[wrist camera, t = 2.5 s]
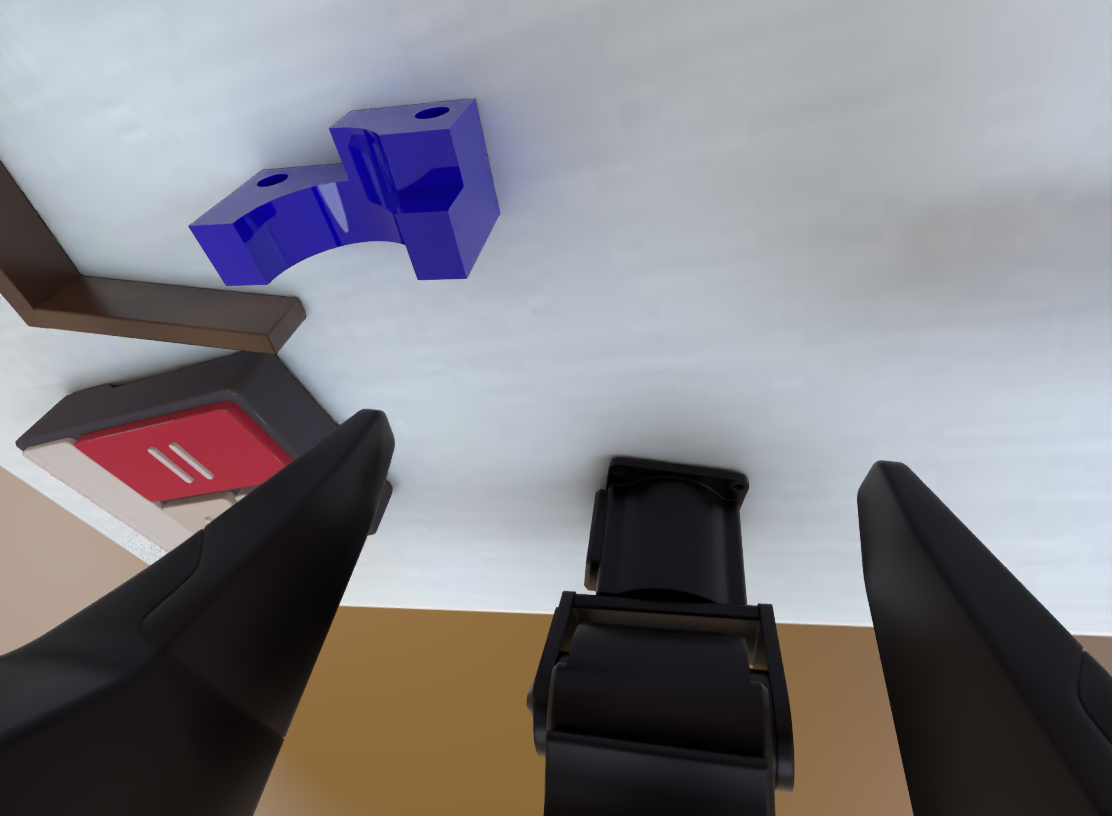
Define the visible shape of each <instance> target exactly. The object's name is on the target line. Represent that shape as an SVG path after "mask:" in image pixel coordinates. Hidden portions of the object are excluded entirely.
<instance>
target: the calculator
mask: <svg viewBox="0 0 1112 816" xmlns="http://www.w3.org/2000/svg"><path fill="white" fill-rule="evenodd" d="M337 427H338V426H337V425H336V424H335V423H334V422H333V421H332V420H331V419H330V417H329V416H328V415H327V414H326V413H325V412H324V411H323V410H322V408H321V407H320V406H319V405H318V404H317V403H316V402H315V400H314V399H313V398H312V397H311V396H310V395H309V394H308V393H307V391H306V390H305V389H304V388H303V387H302V386H301V385H300V383H299V382H298V381H297V380H296V379H295V378H294V377H293V376H292V374H291V373H290V372H289V371H288V370H287V369H286V368H285V366H284V365H283V364H282V363H281V362H280V361H279V360H278V359H277V357H276V356H275V355H274V354H267V353H258V352H250V351H246V352H243V353H239V354H235V355H232V356H228V357H224V358H221V359H217V360H213V361H210V362H206V363H202V364H199V365H195V366H192V367H188V368H184V369H181V370H177V371H173V372H170V373H166V374H162V375H159V376H155V377H151V378H148V379H144V380H140V381H137V382H133V383H129V384H126V385H122V386H118V387H115V388H114V387H113V386H112V385H110V384H106V385H102V386H98V387H95V388H91V389H87V390H84V391H80V392H77V393H73V394H69V395H67V396H65V397H64V398H63V399H62V400H61V401H59V402H58V403H57V404H56V405H55V406H54V407H53V408H52V409H51V410H49V411H48V412H47V413H46V414H45V415H44V416H43V417H42V418H41V419H40V420H38V421H37V422H36V423H35V424H34V425H33V426H32V427H31V428H30V429H29V430H27V431H26V432H25V433H24V434H23V435H22V436H21V437H20V438H19V439H18V440H17V441H16V446H17V447H18V448H19V449H21V450H22V451H23V452H22V454H23V455H24V456H25V457H26V458H28V459H29V460H30V461H32V462H33V463H35V464H36V465H38V466H39V467H41V468H42V469H44V470H45V471H47V472H48V473H50V474H51V475H53V476H54V477H56V478H57V479H59V480H60V481H62V482H63V483H65V484H66V485H68V486H69V487H71V488H72V489H74V490H75V491H77V492H78V493H80V494H81V495H83V496H84V497H85V498H87V499H88V500H90V501H91V502H93V503H94V504H96V505H97V506H99V507H100V508H102V509H103V510H105V511H106V512H108V513H109V514H111V515H112V516H114V517H115V518H117V519H118V520H120V521H121V522H123V523H124V524H126V525H127V526H129V527H130V528H132V529H133V530H135V531H136V532H138V533H139V534H141V535H142V536H144V537H145V538H147V539H148V540H150V541H151V542H153V543H154V544H156V545H157V546H159V547H160V548H162V549H163V550H165V551H166V552H168V553H169V552H170V551H172V550H173V549H174V548H176V547H177V546H178V545H180V544H181V543H183V542H184V541H185V540H187V539H188V538H189V537H191V536H192V535H193V534H195V533H196V532H197V531H199V530H200V529H204V528H205V526H206V525H207V524H208V523H210V522H211V521H212V520H214V519H215V518H216V517H218V516H219V515H220V514H222V513H223V512H224V511H226V510H227V509H228V508H230V507H231V506H232V505H234V504H235V503H236V502H238V501H239V500H240V499H242V498H243V497H245V496H246V495H247V494H249V493H250V492H251V491H253V490H254V489H255V488H257V487H258V486H259V485H261V484H262V483H263V482H265V481H266V480H267V479H269V478H270V477H271V476H273V475H274V474H275V473H277V472H278V471H279V470H281V469H282V468H283V467H285V466H286V465H287V464H289V463H290V462H291V461H293V460H294V459H295V458H297V457H298V456H299V455H301V454H302V453H303V452H305V451H306V450H307V449H309V448H310V447H312V446H313V445H314V444H316V443H317V442H318V441H320V440H321V439H322V438H324V437H325V436H326V435H328V434H329V433H330V432H332V431H333V430H334V429H336V428H337ZM391 494H392V488H391V487H390V485H389V484H388V483H387V482H386V481H385V484H384V488H383V491H382V495H381V498H380V502H379V505H378V509H377V512H376V515H375V518H374V521H373V523H372V526H371V529H370V531H369V533H368V535H373V534H375V533H376V531H377V529H378V526H379V524H380V522H381V519H382V517H383V514H384V512H385V509H386V507H387V504H388V502H389V499H390V497H391Z"/></svg>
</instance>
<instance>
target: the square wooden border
mask: <svg viewBox="0 0 1112 816" xmlns="http://www.w3.org/2000/svg"><path fill="white" fill-rule="evenodd" d="M0 293H1V294H2V295H3V297H4V298H5V299H6V300H7V301H8V302H9V304H10V305H11V306H12V307H13V308H14V309H15V311H16V312H17V313H18V314H19V315H20V317H21V318H22V319H23V320H24V321H25V322H26V324H27V325H28V326H31V327H40V328H52V329H61V330H69V331H78V332H86V333H95V334H104V335H112V336H121V337H129V338H138V339H147V340H155V341H164V342H172V343H181V344H189V345H198V346H207V347H215V348H224V349H232V350H241V351H250V352H258V353H267V354H277V353H278V351H279V350H280V349H281V348H282V346H283V345H284V344H285V343H286V342H287V340H288V339H289V338H290V337H291V335H292V334H293V333H294V332H295V330H296V329H297V328H298V327H299V326H300V324H301V323H302V322H303V321H304V319H305V314H304V311H303V309H302V306H301V304H300V301H299V299H297V298H287V297H278V296H268V295H258V294H249V293H239V292H229V291H220V290H210V289H200V288H191V287H181V286H172V285H162V284H152V283H143V282H133V281H123V280H114V279H104V278H94V277H85V276H81V275H80V274H79V273H78V271H77V270H76V268H75V267H74V265H73V264H72V263H71V261H70V260H69V258H68V257H67V256H66V254H65V253H64V251H63V250H62V248H61V247H60V246H59V244H58V243H57V241H56V240H55V239H54V237H53V236H52V234H51V233H50V231H49V230H48V229H47V227H46V226H45V224H44V223H43V222H42V220H41V219H40V217H39V216H38V214H37V213H36V212H35V210H34V209H33V207H32V206H31V205H30V203H29V202H28V200H27V199H26V198H25V196H24V195H23V193H22V192H21V190H20V189H19V188H18V186H17V185H16V183H15V182H14V181H13V179H12V178H11V176H10V175H9V173H8V172H7V171H6V169H5V168H4V166H3V165H2V164H1V162H0Z"/></svg>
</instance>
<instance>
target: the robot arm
mask: <svg viewBox="0 0 1112 816" xmlns="http://www.w3.org/2000/svg"><path fill="white" fill-rule="evenodd" d="M394 447H395V439H394V435H393V433H392V430H391V427H390V424H389V422H388V419H387V416H386V414H385V413H384V412H383V411H381V410H374V409H362V410H360V411H358V412H357V413H356V414H354V415H353V416H352V417H350V418H349V419H348V420H346V421H345V422H344V423H342V424H341V425H340V426H338V427H337V428H336V429H334V430H333V431H332V432H330V433H329V434H328V435H326V436H325V437H324V438H322V439H321V440H320V441H318V442H317V443H316V444H314V445H313V446H312V447H310V448H309V449H307V450H306V451H305V452H303V453H302V454H301V455H299V456H298V457H297V458H295V459H294V460H293V461H291V462H290V463H289V464H287V465H286V466H285V467H283V468H282V469H281V470H279V471H278V472H277V473H275V474H274V475H273V476H271V477H270V478H269V479H267V480H266V481H265V482H263V483H262V484H261V485H259V486H258V487H257V488H255V489H254V490H253V491H251V492H250V493H249V494H247V495H246V496H245V497H243V498H242V499H240V500H239V501H238V502H236V503H235V504H234V505H232V506H231V507H230V508H228V509H227V510H226V511H224V512H223V513H222V514H220V515H219V516H218V517H216V518H215V519H214V520H212V521H211V522H210V523H208V524H207V525H206V526H205V528H204V529H200V530H199V531H197V532H196V533H195V534H193V535H192V536H191V537H189V538H188V539H187V540H185V541H184V542H183V543H181V544H180V545H178V546H177V547H176V548H174V549H173V550H172V551H170V552H169V553H167V554H166V555H165V556H163V557H162V558H160V559H159V560H158V561H156V562H155V563H153V564H152V565H150V566H149V567H147V568H146V569H144V570H143V571H141V572H140V573H138V574H137V575H135V576H134V577H132V578H131V579H129V580H128V581H126V582H125V583H123V584H122V585H120V586H119V587H117V588H116V589H114V590H113V591H111V592H109V593H108V594H106V595H105V596H103V597H102V598H100V599H99V600H97V601H96V602H94V603H92V604H91V605H89V606H88V607H86V608H85V609H83V610H82V611H80V612H79V613H77V614H75V615H74V616H72V617H71V618H69V619H68V620H66V621H64V622H63V623H61V624H60V625H58V626H57V627H55V628H54V629H52V630H50V631H49V632H47V633H46V634H44V635H42V636H41V637H39V638H37V639H36V640H34V641H32V642H30V643H28V644H26V645H24V646H22V647H20V648H18V649H16V650H13V651H11V652H9V653H6V654H4V655H1V656H0V816H253V815H254V812H255V810H256V808H257V805H258V803H259V800H260V798H261V795H262V793H263V791H264V788H265V785H266V783H267V781H268V778H269V776H270V773H271V771H272V769H273V766H274V764H275V761H276V759H277V756H278V754H279V751H280V748H281V746H282V744H283V741H284V738H283V737H285V736H286V734H287V731H288V728H289V726H290V724H291V721H292V719H293V716H294V714H295V712H296V709H297V707H298V704H299V702H300V699H301V697H302V695H303V692H304V690H305V687H306V685H307V682H308V680H309V677H310V675H311V673H312V670H313V668H314V665H315V663H316V660H317V658H318V655H319V653H320V650H321V648H322V646H323V643H324V641H325V638H326V636H327V634H328V631H329V629H330V626H331V624H332V621H333V619H334V616H335V614H336V612H337V609H338V607H339V604H340V602H341V599H342V597H343V594H344V592H345V590H346V587H347V585H348V582H349V580H350V577H351V575H352V572H353V570H354V568H355V565H356V563H357V560H358V558H359V555H360V553H361V550H362V548H363V546H364V543H365V541H366V538H367V536H368V533H369V531H370V529H371V526H372V523H373V521H374V518H375V515H376V512H377V509H378V505H379V502H380V498H381V495H382V491H383V488H384V484H385V480H386V477H387V473H388V470H389V466H390V463H391V459H392V455H393V452H394ZM748 489H749V481H748V477H747V476H745V475H744V474H740V473H733V472H725V471H717V470H710V469H702V468H694V467H686V466H679V465H671V464H663V463H655V462H648V461H640V460H632V459H625V458H614V459H612V460H611V461H610V462H609V467H608V476H607V484H606V489H601V488H600V489H599V490H598V491H597V492H596V495H595V502H594V509H593V516H592V523H591V531H590V538H589V545H588V552H587V559H586V570H585V582H584V585H585V587H586V588H587V589H588V590H591V591H596V595H587V594H576V592H574V591H563V593H562V597H561V600H560V603H559V607H556V609H555V613H554V616H553V619H552V623H551V626H550V630H549V633H548V636H547V640H546V643H545V647H544V650H543V653H542V657H541V660H540V664H539V667H538V670H537V674H536V677H535V679H534V681H533V683H532V685H531V688H530V690H529V692H528V696H527V708H528V710H529V711H530V713H531V714H532V716H533V723H534V724H533V730H534V731H533V732H534V743H535V747H536V751H537V753H538V755H539V756H541V757H546V759H545V762H546V763H545V803H544V816H775V795H774V790H775V791H783V792H789V793H791V792H792V791H793V787H794V745H793V731H792V720H791V712H790V704H789V697H788V691H787V686H786V680H785V674H784V668H783V663H782V657H781V652H780V646H779V640H778V636H777V630H776V623H775V618H774V612H773V606H772V604H760V603H758V606H755V605H747V597H746V585H745V573H744V561H743V549H742V536H741V524H740V512H739V510H740V508H741V505H742V503H743V501H744V498H745V496H746V494H747V491H748ZM857 505H858V517H859V529H860V541H861V553H862V565H863V574H864V582H865V587H866V593H867V598H868V602H869V607H870V612H871V616H872V621H873V626H874V630H875V635H876V640H877V645H878V649H879V654H880V659H881V664H882V668H883V672H884V678H885V682H886V687H887V691H888V696H889V701H890V706H891V711H892V715H893V720H894V724H895V730H896V734H897V739H898V744H899V748H900V753H901V758H902V763H903V767H904V772H905V777H906V781H907V786H908V791H909V796H910V800H911V805H912V810H913V814H914V816H1112V676H1111V675H1110V674H1109V673H1108V672H1107V671H1106V670H1105V669H1104V668H1103V666H1101V664H1100V663H1098V662H1097V660H1096V659H1095V658H1094V657H1093V656H1092V655H1091V654H1090V653H1089V652H1087V651H1083V647H1082V645H1081V644H1080V643H1079V642H1078V641H1077V640H1076V639H1075V638H1074V637H1073V636H1072V635H1071V634H1070V633H1069V632H1068V631H1067V630H1066V629H1065V628H1064V627H1063V626H1062V625H1061V624H1060V622H1059V621H1058V620H1057V619H1056V618H1055V617H1054V616H1053V615H1052V614H1051V613H1050V612H1049V611H1048V610H1047V609H1046V608H1045V607H1044V606H1043V605H1042V604H1041V603H1040V602H1039V601H1038V600H1037V599H1036V598H1035V597H1034V596H1033V595H1032V594H1031V593H1030V592H1029V591H1028V590H1027V589H1026V588H1025V586H1024V585H1023V584H1022V583H1021V582H1020V581H1019V580H1018V579H1017V578H1016V577H1015V576H1014V575H1013V574H1012V573H1011V572H1010V571H1009V570H1008V569H1007V568H1006V567H1005V566H1004V565H1003V564H1002V563H1001V562H1000V561H999V560H998V559H997V558H996V557H995V556H994V555H993V554H992V553H991V552H990V550H989V549H988V548H987V547H986V546H985V545H984V544H983V543H982V542H981V541H980V540H979V539H978V538H977V537H976V536H975V535H974V534H973V533H972V532H971V531H970V530H969V529H968V528H967V527H966V526H965V525H964V524H963V523H962V522H961V521H960V520H959V519H958V518H957V517H956V516H955V514H954V513H953V512H952V511H951V510H950V509H949V508H948V507H947V506H946V505H945V504H944V503H943V502H942V501H941V500H940V499H939V498H938V497H937V496H936V495H935V494H934V493H933V492H932V491H931V490H930V489H929V488H928V487H927V486H926V485H925V484H924V483H923V482H922V481H921V480H920V478H919V477H918V476H917V475H916V474H915V473H914V472H913V471H912V470H911V469H910V468H909V467H908V466H907V465H905V464H903V463H901V462H893V461H883V460H880V461H877V462H875V463H874V465H873V466H872V468H871V469H870V471H869V473H868V474H867V476H866V477H865V479H864V481H863V482H862V484H861V486H860V488H859V490H858V495H857ZM749 665H753V669H750V668H749Z"/></svg>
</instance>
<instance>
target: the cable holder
mask: <svg viewBox="0 0 1112 816" xmlns="http://www.w3.org/2000/svg"><path fill="white" fill-rule="evenodd" d="M329 130H330V133H331V135H332V138H333V140H334V143H335V145H336V148H337V150H338V153H339V155H340V158H341V160H342V164H330V165H317V166H305V167H292V168H280V169H268V170H261V171H260V172H259V173H257V174H256V175H255V176H253V177H252V178H251V179H250V180H248V181H247V182H246V183H244V184H243V185H242V186H240V187H239V188H238V189H236V190H235V191H234V192H232V193H231V194H230V195H228V196H227V197H226V198H224V199H223V200H222V201H220V202H219V203H218V204H216V205H215V206H214V207H212V208H211V209H210V210H209V211H207V212H206V213H205V214H203V215H202V216H201V217H199V218H198V219H197V220H195V221H194V222H193V223H191V224H190V225H189V226H188V227H189V228H190V230H191V231H192V233H193V234H194V236H195V238H196V239H197V241H198V242H199V244H200V245H201V247H202V249H203V250H204V252H205V253H206V255H207V256H208V258H209V260H210V261H211V263H212V264H213V266H214V267H215V269H216V271H217V272H218V274H219V275H220V277H221V278H222V280H223V282H224V283H225V285H226V286H239V285H268V284H269V283H270V282H271V281H272V280H273V279H274V278H276V277H277V276H278V275H279V274H281V273H282V272H283V271H285V270H286V269H288V268H290V267H291V266H293V265H295V264H296V263H298V262H300V261H302V260H304V259H306V258H309V257H311V256H313V255H315V254H318V253H321V252H323V251H326V250H329V249H333V248H336V247H340V246H344V245H348V244H353V243H359V242H368V241H389V242H396V243H401V244H404V245H406V248H407V251H408V254H409V256H410V259H411V262H412V265H413V268H414V271H415V273H416V276H417V279H418V280H440V279H467V277H468V276H469V274H470V272H471V270H472V268H473V266H474V264H475V262H476V260H477V258H478V256H479V254H480V252H481V250H482V248H483V246H484V244H485V242H486V240H487V238H488V236H489V234H490V232H491V230H492V228H493V226H494V224H495V223H496V221H497V219H498V217H499V215H500V212H499V207H498V202H497V198H496V193H495V188H494V184H493V179H492V174H491V170H490V165H489V160H488V155H487V151H486V146H485V141H484V137H483V132H482V127H481V123H480V118H479V113H478V109H477V104H476V99H475V98H473V99H463V100H453V101H444V102H434V103H424V104H414V105H405V106H395V107H385V108H375V109H366V110H356V111H350V112H349V113H348V114H347V115H345V116H344V117H343V118H341V119H340V120H339V121H338V122H336V123H335V124H334V125H332V126H331V127H330V128H329Z"/></svg>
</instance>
